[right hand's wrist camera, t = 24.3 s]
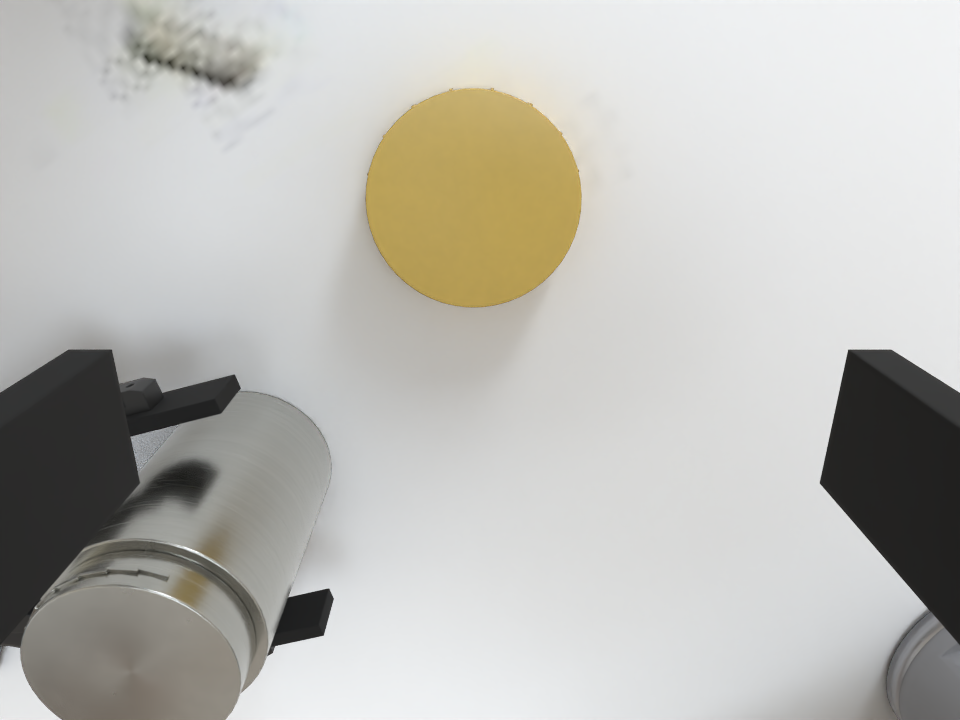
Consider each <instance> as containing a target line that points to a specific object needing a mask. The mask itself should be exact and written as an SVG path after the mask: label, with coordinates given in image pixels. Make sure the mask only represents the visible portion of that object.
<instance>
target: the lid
mask: <svg viewBox="0 0 960 720" xmlns="http://www.w3.org/2000/svg"><path fill="white" fill-rule="evenodd" d="M449 90H450V91H448V92H445V93H442V94H439V95H436V96H433V97H431V98H429V99H427V100H425V101H423V102H421V103H419V104H418V105H416V104H415V105H413V106H411V107H412V109H410V110H409V111H407V112H406V113H405V114H404V115H403V116H402V117H401V118H399V119H398V120H397V121H396V123H395V124H394V125H393V126H392V127H391V128H390V129H389V131H388V132H387V133H386V134H385V135H383V140H382V141H381V143H380V144H379V146H378V148H377V151H376V153H375V155H374V157H373V160H372V163H371V166H370V169H369V173H368V179H367V184H366V210H367V217H368V222H369V226H370V230H371V233H372V235H373V238H374V241H375V243H376V245H377V247H378V249H379V251H380V253H381V255H382V256H383V258H384V259H385V261H386V262H387V264H388V265H389V266H390V267H391V269H392V270H393V271H394V272H395V273H396V274H397V275H398V276H399V277H400V278H401V279H402V280H403V281H404V282H405V283H407V284H408V285H409V286H411V287H412V288H414V289H415V290H416V291H418V292H420V293H422V294H423V295H425V296H427V297H429V298H431V299H434V300H437V301H439V302H442V303H446V304H450V305H454V306H462V307H486V306H493V305H498V304H502V303H505V302H509V301H511V300H514V299H516V298H518V297H521V296H523V295H524V294H526V293H528V292H529V291H531V290H533V289H534V288H536V287H537V286H538V285H540V284H541V283H542V282H543V281H545V280H546V279H547V278H548V277H549V276H550V275H551V274H552V273H553V272H554V270H555V269H556V268H557V267H558V265H559V264H560V263H561V262H562V260H563V258H564V257H565V255H566V253H567V252H568V250H569V248H570V246H571V244H572V241H573V239H574V237H575V234H576V230H577V227H578V224H579V218H580V212H581V185H580V178H579V174H578V172H579V170H578V169H577V166H576V163H575V160H574V157H573V155H572V152H571V150H570V149H569V147H568V145H567V143H566V141H565V139H564V138H563V137H562V133H561V132H560V131H558V130H557V128H556V127H555V126H554V125H553V124H552V123H551V122H550V121H549V120H548V119H547V118H546V117H545V116H544V115H543V114H542V113H540V112H539V111H538V110H537V109H535V108H534V107H532V105H533V104H531V103H529V102H528V104H527V103H526V102H524V101H522V100H520V99H518V98H515V97H513V96H511V95H508V94H506V93H502V92H498V91H495V90H494V88H491V89H490V90H489V89H481V88H465V89H458V90H453V88H452V89H449Z"/></svg>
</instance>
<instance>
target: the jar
mask: <svg viewBox="0 0 960 720" xmlns="http://www.w3.org/2000/svg"><path fill="white" fill-rule="evenodd" d="M138 475H139V480H140V484H139V485H138V486H137V487H136V489H135V490H134V491H133V492H132V493H131V494H130V496H129V497H128V498H127V499H126V500H125V501H124V503H123V504H122V505H121V506H120V507H119V508H118V509H117V511H116V512H115V513H114V514H113V515H112V516H111V518H110V519H109V520H108V521H107V522H106V523H105V525H104V526H103V527H102V528H101V529H100V530H99V531H98V533H97V534H96V535H95V536H94V537H93V538H92V540H91V541H90V542H89V543H88V544H87V545H86V546H85V548H84V549H83V550H82V551H81V552H80V553H79V555H78V556H77V557H76V558H75V559H74V560H73V562H72V563H71V564H70V565H69V566H68V567H67V568H66V570H65V571H64V572H63V573H62V574H61V575H60V577H59V578H58V579H57V580H56V581H55V582H54V584H53V585H52V586H51V587H50V588H49V589H48V590H47V592H46V593H45V594H44V595H43V596H42V597H41V599H40V602H39V603H38V604H37V605H36V606H35V607H34V609H33V612H32V614H31V616H30V618H29V621H28V623H27V625H26V626H25V628H24V633H23V636H22V641H21V647H20V653H21V663H22V667H23V671H24V674H25V676H26V679H27V681H28V683H29V684H30V686H31V688H32V690H33V691H34V692H35V694H36V695H37V696H38V698H39V699H40V700H41V701H42V702H43V703H44V705H45V706H46V707H47V708H48V709H49V710H51V711H52V712H53V713H54V714H55V715H57V716H58V717H59V718H60V719H62V720H225V719H226V718H227V717H228V716H229V714H230V713H231V712H232V710H233V709H234V707H235V705H236V703H237V701H238V698H239V696H240V693H241V692H243V691H244V690H245V689H246V688H247V687H248V686H249V685H250V684H251V683H252V682H253V681H254V680H255V678H256V677H257V676H258V674H259V673H260V671H261V669H262V667H263V665H264V663H265V660H266V657H267V654H268V652H269V649H270V646H271V643H272V641H273V638H274V635H275V632H276V630H277V627H278V624H279V621H280V618H281V616H282V613H283V610H284V607H285V605H286V602H287V599H288V596H289V594H290V591H291V588H292V585H293V583H294V580H295V577H296V574H297V571H298V569H299V566H300V563H301V560H302V558H303V555H304V552H305V549H306V547H307V544H308V541H309V538H310V535H311V533H312V530H313V527H314V524H315V522H316V519H317V516H318V513H319V511H320V508H321V505H322V502H323V499H324V497H325V494H326V491H327V488H328V485H329V482H330V477H331V458H330V453H329V450H328V447H327V444H326V442H325V440H324V438H323V436H322V434H321V433H320V431H319V430H318V428H317V427H316V426H315V425H314V423H313V422H312V421H311V420H310V419H309V418H308V417H307V416H306V415H305V414H303V413H302V412H301V411H300V410H298V409H297V408H295V407H294V406H292V405H290V404H289V403H287V402H285V401H282V400H280V399H278V398H275V397H272V396H269V395H265V394H260V393H254V392H238V393H237V394H236V395H235V396H234V398H233V399H232V400H231V402H230V403H229V404H228V406H227V407H226V408H225V410H224V411H223V412H222V414H218V415H214V416H210V417H206V418H202V419H198V420H194V421H190V422H186V423H182V424H179V425H178V426H177V428H176V429H175V430H174V431H173V432H172V433H171V435H170V436H169V437H168V438H167V439H166V440H165V442H164V443H163V444H162V445H161V446H160V447H159V449H158V450H157V451H156V452H155V453H154V454H153V456H152V457H151V458H150V459H149V460H148V461H147V462H146V464H145V465H144V466H143V467H142V468H141V469H140V471H139V472H138Z"/></svg>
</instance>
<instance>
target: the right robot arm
mask: <svg viewBox="0 0 960 720" xmlns="http://www.w3.org/2000/svg"><path fill="white" fill-rule="evenodd" d="M139 484H140V480H139V475H138V470H137V466H136V461H135V456H134V452H133V447H132V442H131V438H130V433H129V428H128V424H127V419H126V414H125V410H124V405H123V400H122V396H121V391H120V386H119V382H118V377H117V372H116V368H115V363H114V358H113V354H112V350H67V351H66V352H64V353H63V354H61V355H60V356H58V357H56V358H55V359H53V360H52V361H50V362H48V363H47V364H45V365H44V366H42V367H41V368H39V369H37V370H36V371H34V372H33V373H31V374H29V375H28V376H26V377H25V378H23V379H22V380H20V381H18V382H17V383H15V384H14V385H12V386H10V387H9V388H7V389H6V390H4V391H3V392H1V393H0V645H1V644H2V643H3V641H4V640H5V639H6V638H7V637H8V636H9V634H10V633H11V632H12V631H13V630H14V629H15V627H16V626H17V625H18V624H19V623H20V622H21V621H22V619H23V618H24V617H25V616H26V615H27V614H28V612H29V611H30V610H31V609H32V608H33V607H34V605H35V604H36V603H37V602H38V601H39V600H40V599H41V597H42V596H43V595H44V594H45V593H46V592H47V590H48V589H49V588H50V587H51V586H52V585H53V584H54V582H55V581H56V580H57V579H58V578H59V577H60V575H61V574H62V573H63V572H64V571H65V570H66V568H67V567H68V566H69V565H70V564H71V563H72V562H73V560H74V559H75V558H76V557H77V556H78V555H79V553H80V552H81V551H82V550H83V549H84V548H85V546H86V545H87V544H88V543H89V542H90V541H91V540H92V538H93V537H94V536H95V535H96V534H97V533H98V531H99V530H100V529H101V528H102V527H103V526H104V525H105V523H106V522H107V521H108V520H109V519H110V518H111V516H112V515H113V514H114V513H115V512H116V511H117V509H118V508H119V507H120V506H121V505H122V504H123V503H124V501H125V500H126V499H127V498H128V497H129V496H130V494H131V493H132V492H133V491H134V490H135V489H136V487H137V486H138V485H139ZM820 484H821V485H822V486H823V487H824V489H825V490H826V491H827V492H828V493H829V494H830V496H831V497H832V498H833V499H834V500H835V501H836V503H837V504H838V505H839V506H840V507H841V508H842V509H843V511H844V512H845V513H846V514H847V515H848V516H849V518H850V519H851V520H852V521H853V522H854V523H855V525H856V526H857V527H858V528H859V529H860V530H861V531H862V533H863V534H864V535H865V536H866V537H867V538H868V540H869V541H870V542H871V543H872V544H873V545H874V546H875V548H876V549H877V550H878V551H879V552H880V553H881V555H882V556H883V557H884V558H885V559H886V560H887V562H888V563H889V564H890V565H891V566H892V567H893V568H894V570H895V571H896V572H897V573H898V574H899V575H900V577H901V578H902V579H903V580H904V581H905V582H906V584H907V585H908V586H909V587H910V588H911V589H912V590H913V592H914V593H915V594H916V595H917V596H918V597H919V599H920V600H921V601H922V602H923V603H924V604H925V605H926V607H927V608H928V609H929V610H930V611H931V612H930V613H928V614H927V615H926V616H924V617H923V618H922V619H921V620H920V621H919V622H918V623H917V624H916V625H915V626H914V627H913V628H912V629H911V630H910V631H909V632H908V634H907V635H906V636H905V638H904V639H903V640H902V642H901V643H900V645H899V646H898V648H897V650H896V652H895V654H894V656H893V658H892V660H891V663H890V666H889V670H888V674H887V694H888V699H889V702H890V705H891V707H892V709H893V711H894V713H895V714H896V716H897V717H898V719H899V720H960V393H959V392H957V391H956V390H954V389H953V388H951V387H950V386H948V385H946V384H945V383H943V382H942V381H940V380H938V379H937V378H935V377H934V376H932V375H931V374H929V373H927V372H926V371H924V370H923V369H921V368H919V367H918V366H916V365H915V364H913V363H912V362H910V361H908V360H907V359H905V358H904V357H902V356H900V355H899V354H897V353H896V352H894V351H893V350H848V354H847V358H846V363H845V368H844V372H843V377H842V382H841V386H840V391H839V396H838V400H837V405H836V410H835V414H834V419H833V424H832V428H831V433H830V438H829V442H828V447H827V452H826V456H825V461H824V466H823V470H822V475H821V480H820Z"/></svg>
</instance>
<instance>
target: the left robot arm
mask: <svg viewBox="0 0 960 720" xmlns="http://www.w3.org/2000/svg"><path fill="white" fill-rule="evenodd" d="M119 386H120V391H121V396H122V400H123V405H124V410H125V414H126V419H127V424H128V428H129V433H130V436H134V435H138V434H142V433H146V432H150V431H154V430H158V429H162V428H166V427H170V426H174V425H178V424H182V423H186V422H190V421H194V420H198V419H202V418H206V417H210V416H214V415H218V414H222V412H223V411H224V410H225V408H226V407H227V406H228V404H229V403H230V402H231V400H232V399H233V398H234V396H235V395H236V394H237V393H238V391H239V390H240V389H241V388H240V386H239V383H238V381H237V379H236V377H235V375H231V376H227V377H223V378H219V379H215V380H211V381H208V382H204V383H200V384H196V385H192V386H188V387H184V388H180V389H176V390H172V391H169V392H165V393H162V392H161V390H160V388H159V386H158V384H157V382H156V380H155V379H150V378H141V379H137V380H133V381H129V382H126V383H122V384H119ZM333 599H334V598H333V596H332V594H331V592H330V589H324V590H320V591H315V592H311V593H306V594H302V595H297V596H293V597H288V599H287V602H286V605H285V607H284V610H283V613H282V616H281V618H280V621H279V624H278V627H277V630H276V632H275V635H274V638H273V641H272V643H271V646H270V649H269V652H268V654H267V656H268V655H270V654H272V653H273V651H274V648H275V646H278V645H282V644H287V643H291V642H296V641H301V640H305V639H310V638H315V637H319V636H324V632H325V629H326V625H327V621H328V618H329V614H330V610H331V607H332V603H333ZM39 602H40V600H39V601H38V602H37V603H36V604H35V605H34V607H35V606H36V605H37V604H38V603H39ZM34 607H33V608H32V609H31V610H30V611H29V612H28V614H27V615H26V616H25V617H24V618H23V619H22V621H21V622H20V623H19V624H18V625H17V626H16V627H15V629H14V630H13V631H12V632H11V633H10V634H9V636H8V637H7V638H6V639H5V640H4V641H3V643H2V644H1V645H0V646H13V647H18V648H20V647H21V641H22V636H23V633H24V628H25V626H26V625H27V623H28V621H29V618H30V616H31V614H32V612H33V609H34ZM29 685H30V684H29Z"/></svg>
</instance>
